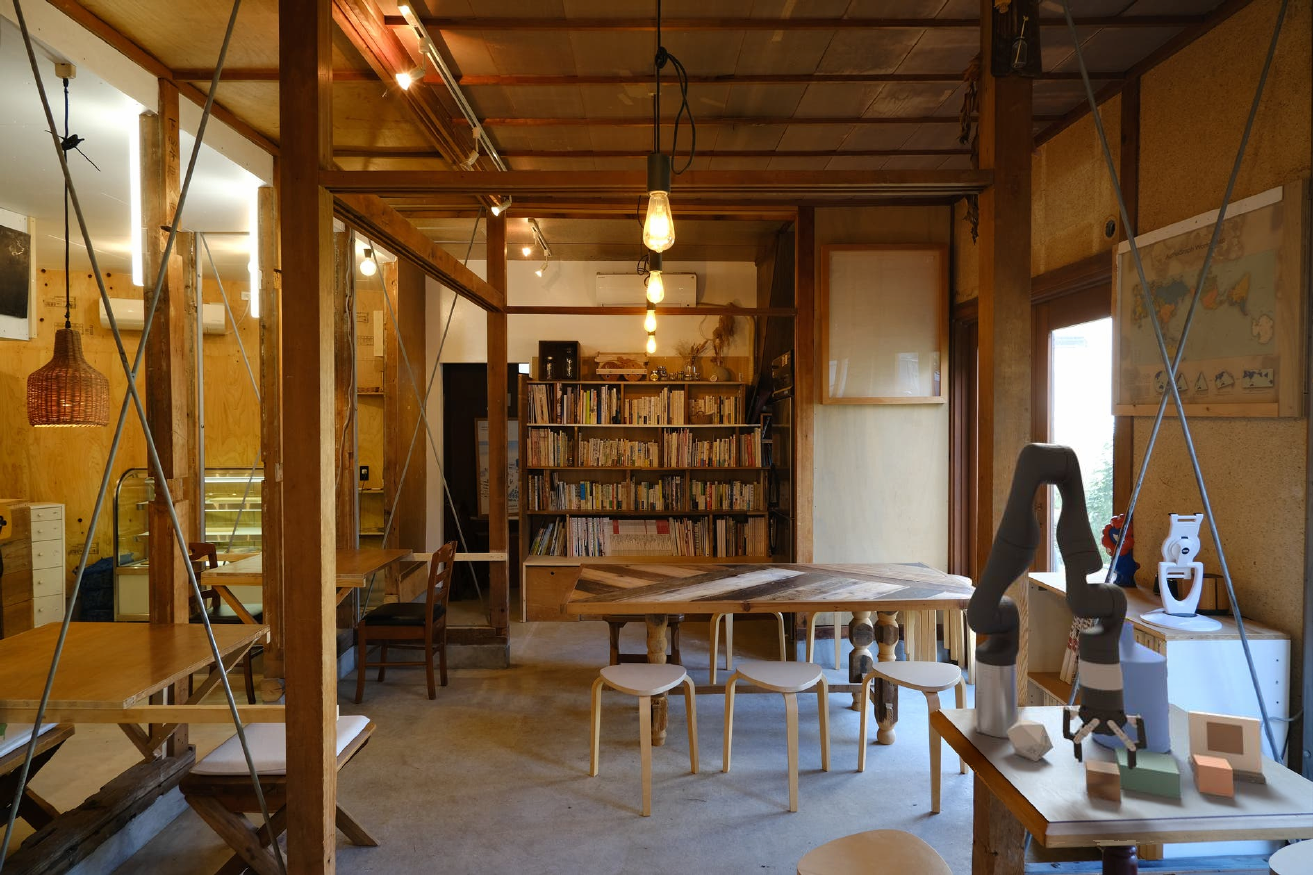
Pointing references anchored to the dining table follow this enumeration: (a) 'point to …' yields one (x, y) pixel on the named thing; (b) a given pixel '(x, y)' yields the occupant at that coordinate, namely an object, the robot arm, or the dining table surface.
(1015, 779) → the dining table surface
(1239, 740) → the placard
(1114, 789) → the walnut block
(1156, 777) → the base block
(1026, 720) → the die
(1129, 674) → the water jug
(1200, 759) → the terracotta block
